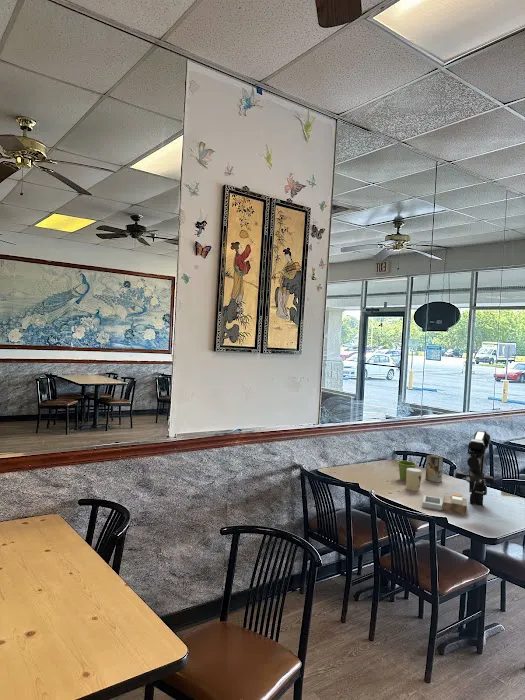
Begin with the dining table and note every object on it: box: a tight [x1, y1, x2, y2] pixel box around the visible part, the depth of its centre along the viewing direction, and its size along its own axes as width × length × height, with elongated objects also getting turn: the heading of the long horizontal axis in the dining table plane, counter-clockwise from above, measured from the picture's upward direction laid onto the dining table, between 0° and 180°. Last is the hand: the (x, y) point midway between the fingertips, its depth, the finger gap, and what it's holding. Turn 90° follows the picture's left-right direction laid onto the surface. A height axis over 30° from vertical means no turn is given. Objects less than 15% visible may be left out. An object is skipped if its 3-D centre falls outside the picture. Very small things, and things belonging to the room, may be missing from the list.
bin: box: [421, 494, 443, 512], centre depth 273 cm, size 10×14×3 cm
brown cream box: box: [441, 494, 468, 516], centre depth 269 cm, size 12×14×5 cm
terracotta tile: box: [451, 492, 463, 498], centre depth 271 cm, size 5×5×2 cm
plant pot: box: [397, 460, 417, 482], centre depth 322 cm, size 12×12×11 cm
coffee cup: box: [405, 468, 423, 492], centre depth 302 cm, size 9×9×12 cm
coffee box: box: [424, 454, 444, 483], centre depth 326 cm, size 9×6×16 cm
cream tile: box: [451, 495, 463, 505], centre depth 265 cm, size 5×5×2 cm
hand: (472, 493), depth 262 cm, fingers closed
